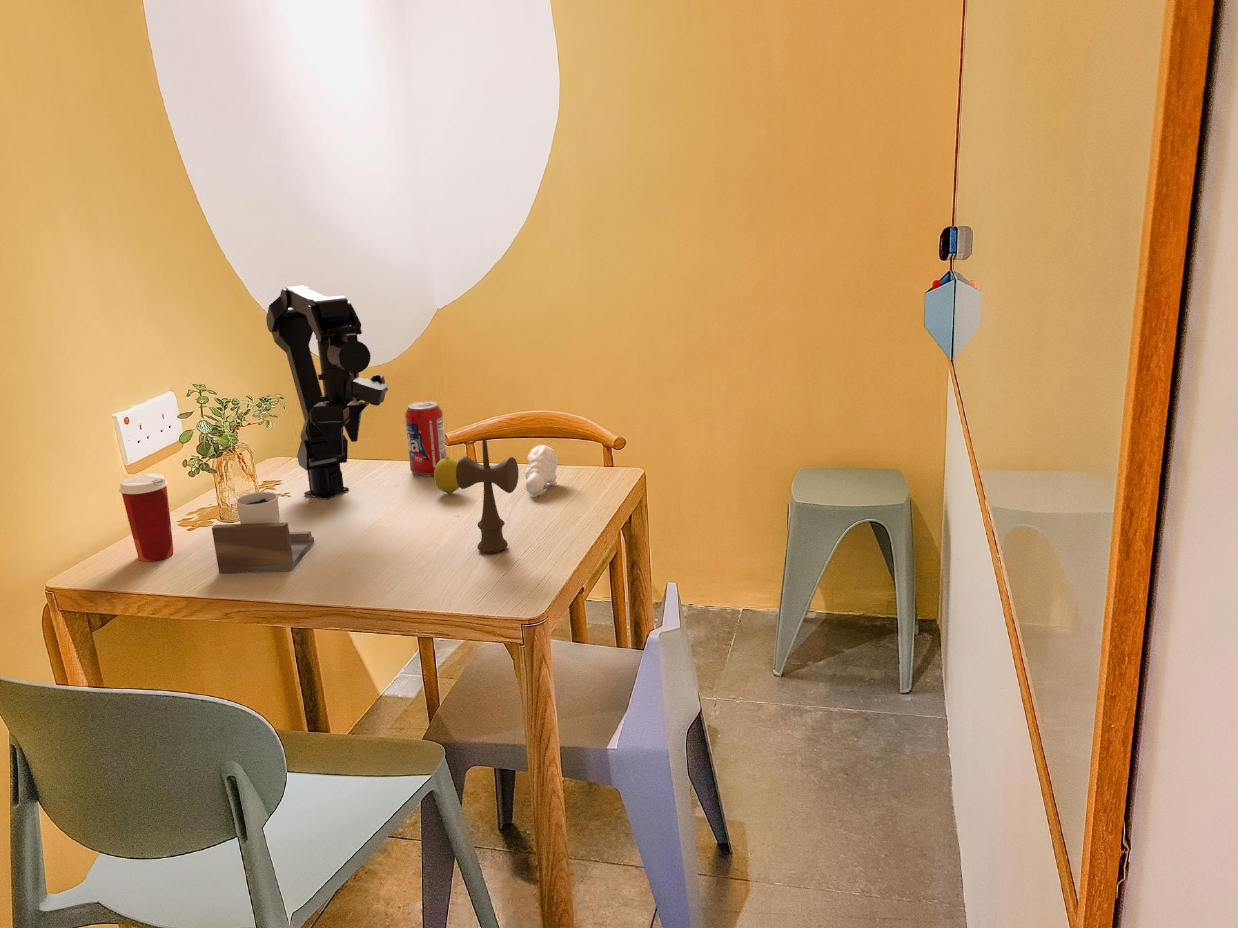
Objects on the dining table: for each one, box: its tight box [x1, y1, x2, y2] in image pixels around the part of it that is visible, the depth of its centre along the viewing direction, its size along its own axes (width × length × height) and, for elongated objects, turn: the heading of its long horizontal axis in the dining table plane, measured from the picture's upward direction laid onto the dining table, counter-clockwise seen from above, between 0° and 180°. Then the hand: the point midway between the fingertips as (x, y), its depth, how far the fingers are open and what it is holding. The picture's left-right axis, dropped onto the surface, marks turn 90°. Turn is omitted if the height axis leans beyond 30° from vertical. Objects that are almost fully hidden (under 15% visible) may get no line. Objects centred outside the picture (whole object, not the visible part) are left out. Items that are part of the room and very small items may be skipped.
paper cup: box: [118, 473, 174, 563], centre depth 172 cm, size 8×8×14 cm
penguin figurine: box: [523, 444, 559, 498], centre depth 200 cm, size 6×8×12 cm
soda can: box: [404, 401, 447, 477], centre depth 214 cm, size 8×8×15 cm
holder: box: [211, 522, 315, 574], centre depth 171 cm, size 13×12×8 cm
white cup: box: [235, 491, 281, 524], centre depth 169 cm, size 7×7×10 cm
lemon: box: [433, 455, 459, 496], centre depth 200 cm, size 6×6×8 cm
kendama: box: [456, 436, 519, 554], centre depth 169 cm, size 6×10×20 cm, turn 74°
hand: (347, 447), depth 188 cm, fingers open, 9 cm apart
